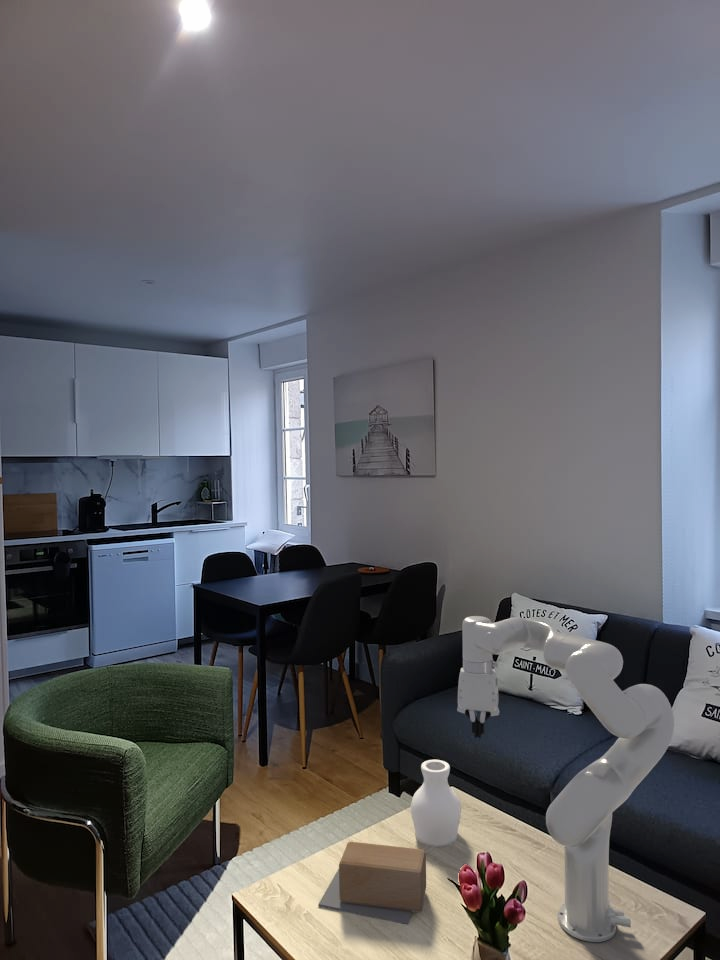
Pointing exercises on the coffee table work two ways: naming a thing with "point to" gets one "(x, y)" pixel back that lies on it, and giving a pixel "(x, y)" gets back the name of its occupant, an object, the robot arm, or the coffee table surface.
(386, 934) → the coffee table surface
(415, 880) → the block
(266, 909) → the coffee table surface
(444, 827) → the vase
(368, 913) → the mat
